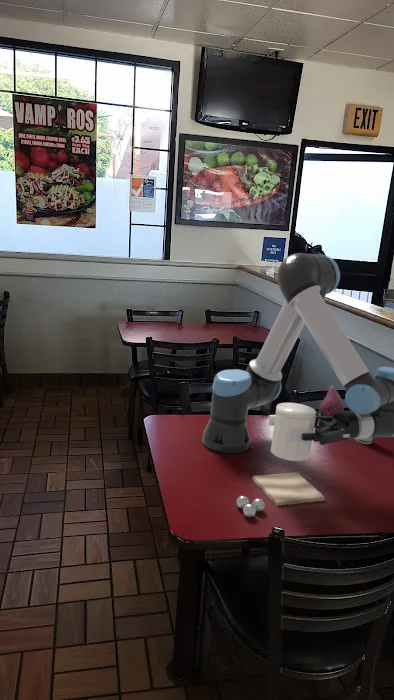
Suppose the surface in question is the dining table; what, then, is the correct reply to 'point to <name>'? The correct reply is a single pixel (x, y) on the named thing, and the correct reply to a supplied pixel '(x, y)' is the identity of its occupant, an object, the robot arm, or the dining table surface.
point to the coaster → (287, 488)
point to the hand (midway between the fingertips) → (278, 428)
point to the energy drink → (364, 440)
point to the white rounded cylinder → (288, 420)
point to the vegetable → (331, 403)
